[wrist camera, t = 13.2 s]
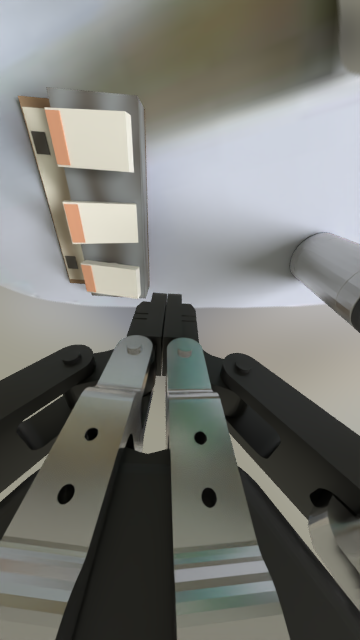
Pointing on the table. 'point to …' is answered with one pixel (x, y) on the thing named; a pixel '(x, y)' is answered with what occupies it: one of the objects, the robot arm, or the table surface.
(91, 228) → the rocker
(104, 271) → the cream box
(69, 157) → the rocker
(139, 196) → the switch box
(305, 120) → the table surface
